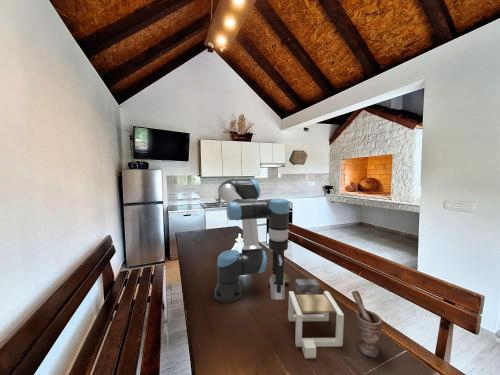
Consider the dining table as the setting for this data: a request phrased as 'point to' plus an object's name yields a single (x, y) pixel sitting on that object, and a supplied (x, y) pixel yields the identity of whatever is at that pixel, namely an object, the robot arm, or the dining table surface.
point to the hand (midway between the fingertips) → (277, 294)
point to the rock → (284, 278)
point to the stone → (272, 287)
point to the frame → (316, 317)
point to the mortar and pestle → (367, 328)
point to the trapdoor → (311, 297)
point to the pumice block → (309, 348)
